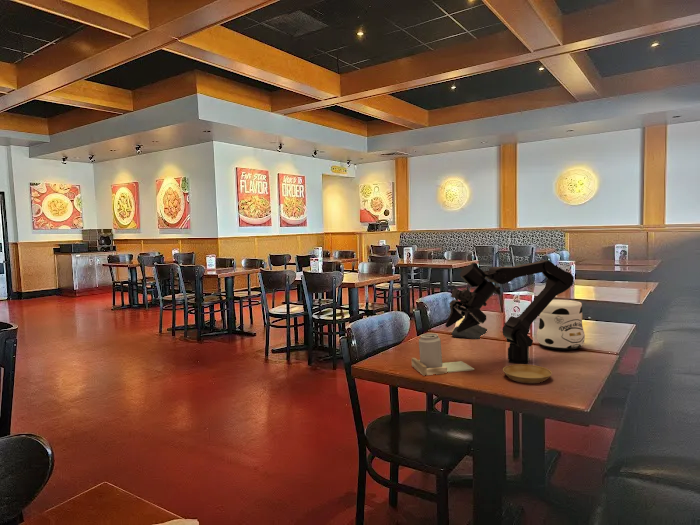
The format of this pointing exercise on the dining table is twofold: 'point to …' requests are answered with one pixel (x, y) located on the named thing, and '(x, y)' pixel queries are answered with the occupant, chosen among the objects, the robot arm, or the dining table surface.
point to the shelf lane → (427, 371)
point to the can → (430, 350)
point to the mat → (457, 366)
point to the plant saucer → (527, 373)
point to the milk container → (561, 325)
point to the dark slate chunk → (470, 332)
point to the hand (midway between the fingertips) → (451, 329)
